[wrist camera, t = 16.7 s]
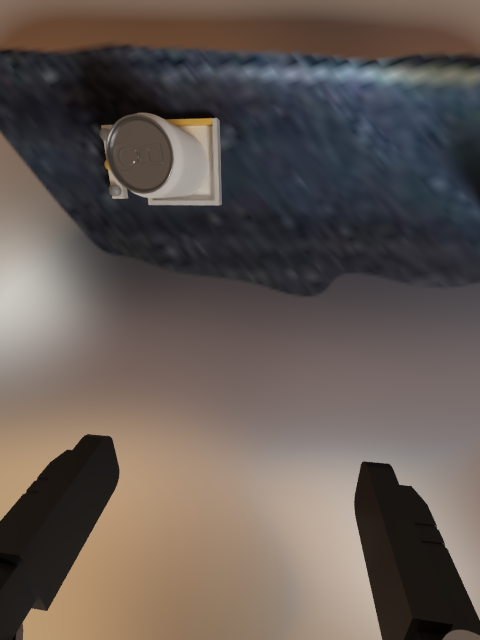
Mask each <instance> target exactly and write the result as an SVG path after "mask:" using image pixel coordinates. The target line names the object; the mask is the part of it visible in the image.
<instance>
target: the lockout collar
mask: <svg viewBox="0 0 480 640" xmlns="http://www.w3.org/2000/svg"><path fill="white" fill-rule="evenodd" d="M166 121H168V122H170V123H172V124H173V125H175V126H177V127H178V128H180V129H182V130H183V131H185V132H187V133H188V134H190V135H192V136H193V137H195V138H196V139H197V140H198V141H199V142H200V143H201V144H202V145H203V147H204V149H205V151H206V153H207V156H208V159H209V174H208V177H207V180H206V182H205V184H204V185H203V186H202V188H201V189H200V190H198V191H197V192H196V193H194V194H191V195H187V196H178V197H167V198H148V203H149V205H222V199H221V159H220V121H219V120H218V119H217V118H204V119H169V120H166Z"/></svg>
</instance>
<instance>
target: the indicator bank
mask: <svg viewBox="0 0 480 640" xmlns="http://www.w3.org/2000/svg"><path fill="white" fill-rule="evenodd" d="M112 126H113V125H101V128H102V129H101V130H100V137H101V138H102V139H103V140H104V147H105V153H106V141H107V137H108V134H109V131H110V129H111V128H112ZM106 159H107V157H106ZM105 167H106V169H107V170H108V172H109V179H110V185H111V186H110V187H109V193H110V194H111V195H112V198H113V199H125V198H128V194H127V188H125V187H124V186H123V185H121V184H120V183H119V182H118V181H117V179H116V178H115V177H114V175H113V174H112V172H111V170H110V168H109V165H108V162H107V160H106V161H105Z"/></svg>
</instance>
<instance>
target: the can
mask: <svg viewBox="0 0 480 640" xmlns="http://www.w3.org/2000/svg"><path fill="white" fill-rule="evenodd" d="M106 157H107V162H108V165H109V168H110V170H111V172H112V174H113V175H114V177H115V178H116V179H117V181H118V182H119V183H120V184H121V185H123V186H124V187H125V188H127V189H128V190H130V191H132V192H133V193H135V194H137V195H139V196H142V197H146V198H167V197H178V196H187V195H191V194H194V193H196V192H197V191H198V190H200V189H201V188H202V186H203V185H204V184H205V182H206V180H207V177H208V174H209V159H208V156H207V153H206V151H205V149H204V147H203V145H202V144H201V143H200V142H199V141H198V140H197V139H196V138H195V137H193V136H192V135H190V134H188V133H187V132H185V131H183V130H182V129H180V128H178V127H177V126H175V125H173V124H172V123H170V122H168V121H166V120H165V119H163V118H161V117H159V116H157V115H154V114H150V113H136V114H131V115H127V116H124V117H122V118H121V119H119V120H118V121H117V122H116V123H115V124H114V125H113V126H112V128H111V129H110V131H109V134H108V137H107V141H106Z"/></svg>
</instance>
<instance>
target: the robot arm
mask: <svg viewBox="0 0 480 640" xmlns="http://www.w3.org/2000/svg"><path fill="white" fill-rule="evenodd" d="M118 479H119V465H118V461H117V457H116V453H115V448H114V444H113V440H112V438H111V437H110V436H101V435H89V434H88V435H85V436H84V437H83V438H82V439H81V440H80V441H79V443H78V444H77V445H76V446H75V448H74V449H73V450H66V451H65V452H64V453H62V454H61V455H60V456H58V457H57V458H55V459H54V460H53V461H51V462H50V463H49V465H48V466H47V467H46V468H45V469H44V470H43V472H42V473H41V474H40V475H39V477H38V479H37V480H36V481H34V482H33V484H32V485H31V486H30V487H29V488H28V489H27V492H26V494H23V495H22V496H21V498H20V499H19V500H18V501H17V502H16V504H15V505H14V506H13V507H12V508H11V509H10V511H9V512H8V513H7V514H6V515H5V516H4V518H3V519H2V520H1V521H0V640H23V624H22V623H23V621H24V619H25V618H26V616H27V614H28V613H29V611H30V609H31V608H34V609H39V610H45V611H47V610H48V608H49V606H50V605H51V603H52V601H53V599H54V598H55V596H56V594H57V592H58V590H59V588H60V586H61V585H62V583H63V581H64V580H65V578H66V576H67V574H68V572H69V571H70V569H71V567H72V565H73V564H74V562H75V560H76V558H77V556H78V555H79V552H80V551H81V549H82V547H83V546H84V544H85V542H86V540H87V538H88V537H89V534H90V533H91V531H92V530H93V528H94V526H95V524H96V522H97V520H98V519H99V517H100V515H101V513H102V512H103V510H104V508H105V506H106V504H107V503H108V501H109V499H110V497H111V495H112V494H113V492H114V490H115V488H116V486H117V483H118ZM354 503H355V504H354V505H355V516H356V521H357V526H358V530H359V535H360V539H361V544H362V549H363V553H364V558H365V562H366V567H367V572H368V576H369V581H370V585H371V590H372V594H373V599H374V604H375V608H376V613H377V617H378V621H379V626H380V630H381V636H382V640H480V620H479V618H478V616H477V614H476V612H475V609H474V607H473V605H472V602H471V600H470V598H469V596H468V594H467V591H466V589H465V587H464V585H463V583H462V580H461V578H460V576H459V574H458V572H457V569H456V567H455V565H454V563H453V560H452V558H451V556H450V554H449V552H448V550H447V548H445V543H444V541H443V538H442V536H441V534H440V532H439V530H437V527H436V526H437V525H436V523H435V521H434V519H433V516H432V514H431V512H430V510H429V508H428V505H427V504H426V503H425V501H424V500H423V499H422V498H421V497H420V496H419V495H418V494H417V492H416V491H415V490H414V489H413V488H412V486H404V485H399V483H398V481H397V478H396V475H395V473H394V470H393V468H392V466H391V465H390V464H384V463H373V462H362V464H361V468H360V473H359V477H358V482H357V487H356V492H355V501H354Z"/></svg>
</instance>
